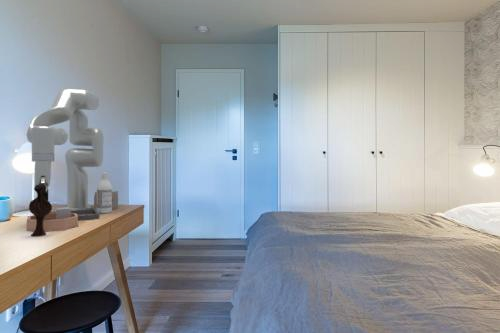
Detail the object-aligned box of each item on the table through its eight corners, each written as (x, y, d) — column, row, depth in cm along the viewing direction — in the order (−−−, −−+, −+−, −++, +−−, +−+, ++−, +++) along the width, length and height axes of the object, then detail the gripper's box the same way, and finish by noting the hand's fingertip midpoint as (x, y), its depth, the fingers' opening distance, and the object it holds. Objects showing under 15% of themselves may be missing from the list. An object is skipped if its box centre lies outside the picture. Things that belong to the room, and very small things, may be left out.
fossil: (97, 211, 163) (97, 192, 163) (93, 210, 165) (93, 192, 165) (118, 208, 173) (118, 190, 173) (114, 207, 175) (114, 190, 175)
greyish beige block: (35, 224, 128) (35, 209, 128) (50, 222, 131) (50, 208, 131) (35, 226, 125) (35, 210, 124) (50, 225, 127) (50, 210, 127)
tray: (48, 216, 148) (48, 212, 147) (95, 213, 158) (95, 209, 158) (47, 222, 135) (48, 217, 135) (99, 218, 145) (99, 214, 145)
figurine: (54, 232, 119) (54, 184, 118) (48, 236, 114) (49, 185, 113) (31, 233, 117) (32, 183, 117) (25, 236, 112) (25, 185, 112)
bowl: (28, 224, 131) (28, 214, 131) (75, 220, 140) (75, 211, 140) (25, 233, 117) (25, 222, 117) (78, 228, 126) (78, 218, 126)
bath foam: (97, 211, 164) (98, 171, 163) (112, 210, 166) (113, 172, 165) (95, 213, 157) (96, 172, 156) (110, 213, 159) (111, 172, 159)
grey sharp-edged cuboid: (56, 222, 132) (56, 207, 132) (70, 221, 135) (70, 207, 134) (56, 224, 128) (56, 209, 128) (70, 223, 131) (70, 208, 131)
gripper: (32, 156, 132) (33, 198, 133) (30, 158, 118) (30, 205, 119) (54, 157, 136) (54, 197, 137) (54, 158, 122) (54, 203, 123)
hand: (43, 200), depth 128 cm, fingers open, 9 cm apart
